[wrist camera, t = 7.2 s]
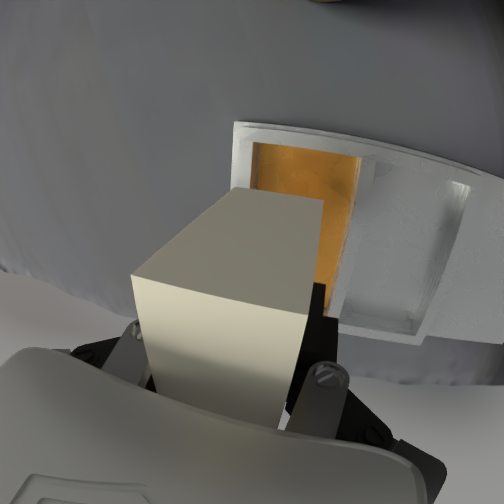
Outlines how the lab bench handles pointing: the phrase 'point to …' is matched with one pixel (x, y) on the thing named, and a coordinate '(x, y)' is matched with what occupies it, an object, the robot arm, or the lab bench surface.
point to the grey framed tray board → (389, 230)
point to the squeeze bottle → (325, 0)
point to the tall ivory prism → (231, 304)
